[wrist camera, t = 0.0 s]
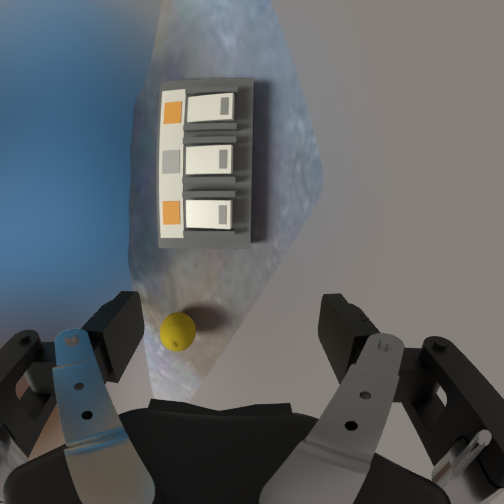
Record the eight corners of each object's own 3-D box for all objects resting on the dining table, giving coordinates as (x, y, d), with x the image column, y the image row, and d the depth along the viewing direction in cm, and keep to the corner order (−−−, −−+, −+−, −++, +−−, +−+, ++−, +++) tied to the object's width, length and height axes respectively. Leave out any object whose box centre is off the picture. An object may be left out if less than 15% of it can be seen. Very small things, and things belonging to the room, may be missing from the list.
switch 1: (191, 98, 32) (188, 97, 31) (234, 95, 31) (232, 92, 30) (190, 123, 33) (186, 122, 31) (233, 120, 32) (231, 118, 31)
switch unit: (166, 88, 34) (156, 78, 29) (252, 85, 34) (254, 73, 30) (164, 243, 40) (154, 251, 35) (249, 243, 41) (250, 252, 36)
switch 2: (188, 199, 35) (185, 200, 34) (232, 200, 34) (230, 200, 33) (189, 226, 36) (186, 227, 35) (232, 227, 35) (230, 229, 34)
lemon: (205, 317, 44) (199, 344, 36) (187, 338, 45) (178, 366, 37) (178, 297, 43) (166, 322, 35) (161, 319, 44) (147, 346, 36)
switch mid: (189, 147, 33) (186, 147, 32) (233, 145, 32) (231, 144, 31) (188, 174, 34) (185, 174, 33) (232, 173, 33) (230, 173, 32)
